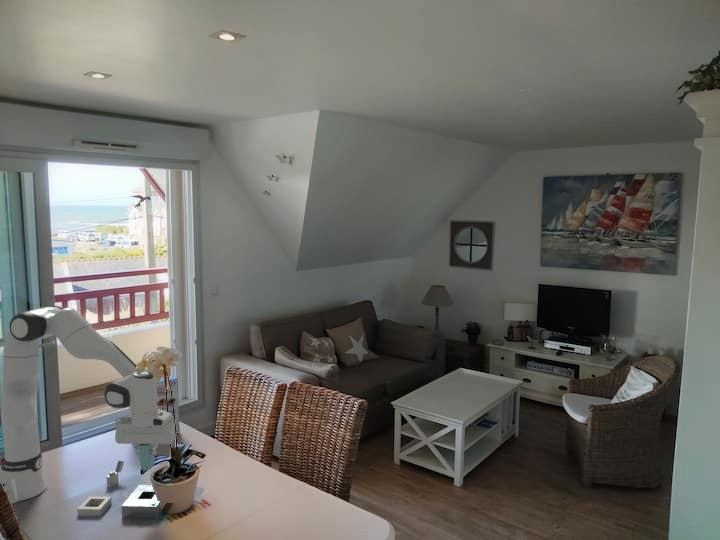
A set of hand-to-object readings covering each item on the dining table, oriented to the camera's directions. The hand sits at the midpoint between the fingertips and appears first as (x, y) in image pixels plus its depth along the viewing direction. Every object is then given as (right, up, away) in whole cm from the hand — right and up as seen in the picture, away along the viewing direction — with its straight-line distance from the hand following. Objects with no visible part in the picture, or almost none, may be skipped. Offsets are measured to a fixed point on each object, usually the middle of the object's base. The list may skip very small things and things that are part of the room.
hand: (146, 454), depth 186 cm
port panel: (0, -20, +2) cm, 20 cm away
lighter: (-19, -18, +18) cm, 32 cm away
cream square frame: (-18, -20, 0) cm, 27 cm away
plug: (0, -5, +1) cm, 5 cm away
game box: (-20, -13, +60) cm, 64 cm away
